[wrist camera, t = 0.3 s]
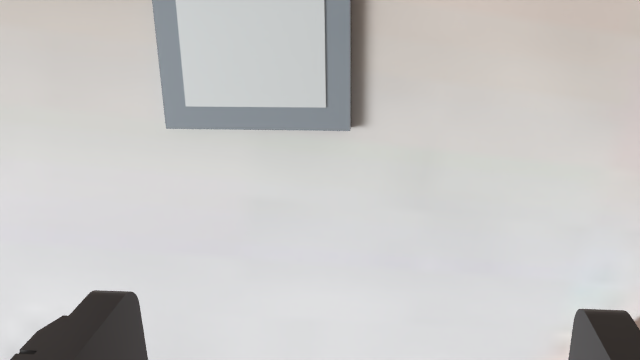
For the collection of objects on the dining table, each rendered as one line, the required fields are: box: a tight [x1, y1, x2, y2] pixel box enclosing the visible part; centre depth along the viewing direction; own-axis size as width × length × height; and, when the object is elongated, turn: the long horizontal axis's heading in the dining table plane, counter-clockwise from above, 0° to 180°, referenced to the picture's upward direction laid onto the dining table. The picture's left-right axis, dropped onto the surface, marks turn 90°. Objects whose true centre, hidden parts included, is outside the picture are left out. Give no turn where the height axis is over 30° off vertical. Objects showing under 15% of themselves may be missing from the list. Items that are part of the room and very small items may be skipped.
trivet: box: [152, 0, 351, 131], centre depth 36 cm, size 12×12×1 cm
